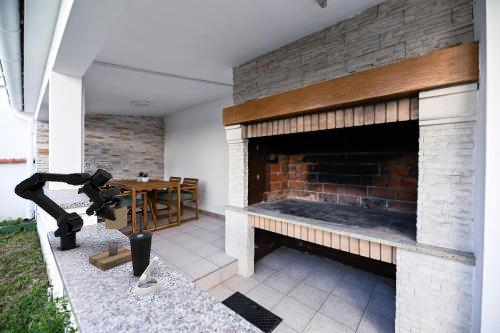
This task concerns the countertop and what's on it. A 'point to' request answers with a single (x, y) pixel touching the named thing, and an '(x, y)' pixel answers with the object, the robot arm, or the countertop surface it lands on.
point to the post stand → (111, 257)
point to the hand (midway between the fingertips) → (119, 218)
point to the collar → (117, 218)
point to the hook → (148, 280)
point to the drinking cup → (140, 250)
